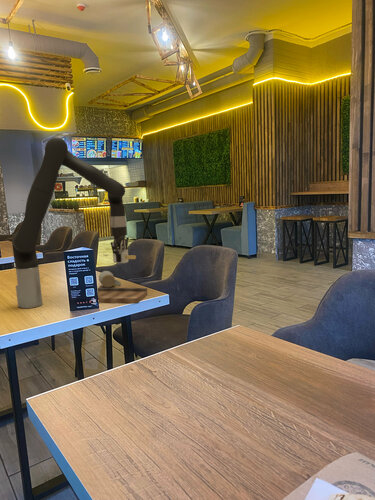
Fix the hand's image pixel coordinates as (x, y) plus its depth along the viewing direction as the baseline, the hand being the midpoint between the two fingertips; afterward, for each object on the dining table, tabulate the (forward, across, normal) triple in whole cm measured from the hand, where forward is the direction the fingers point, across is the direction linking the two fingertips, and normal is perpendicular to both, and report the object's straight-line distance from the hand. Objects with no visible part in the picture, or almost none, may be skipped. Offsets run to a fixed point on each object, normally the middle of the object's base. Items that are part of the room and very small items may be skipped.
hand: (120, 261), depth 185 cm
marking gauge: (+1, 0, +2) cm, 2 cm away
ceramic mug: (+15, -10, -12) cm, 22 cm away
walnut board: (+15, +13, +4) cm, 20 cm away
